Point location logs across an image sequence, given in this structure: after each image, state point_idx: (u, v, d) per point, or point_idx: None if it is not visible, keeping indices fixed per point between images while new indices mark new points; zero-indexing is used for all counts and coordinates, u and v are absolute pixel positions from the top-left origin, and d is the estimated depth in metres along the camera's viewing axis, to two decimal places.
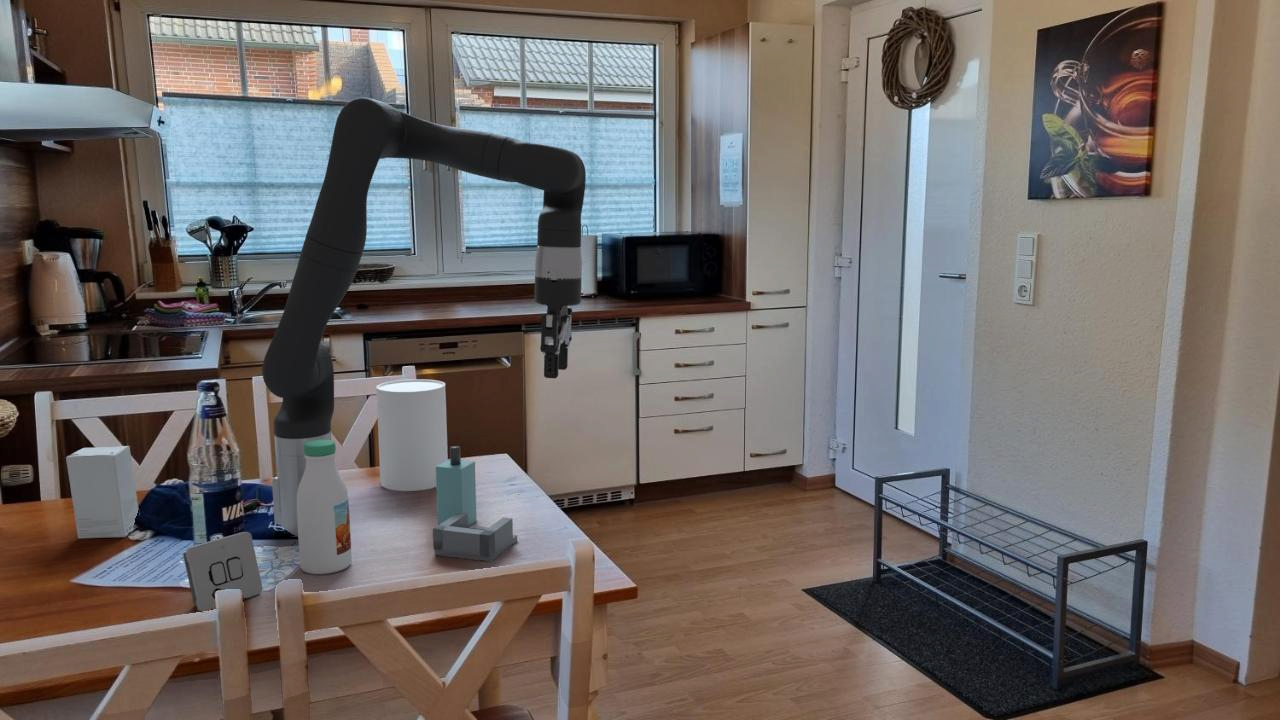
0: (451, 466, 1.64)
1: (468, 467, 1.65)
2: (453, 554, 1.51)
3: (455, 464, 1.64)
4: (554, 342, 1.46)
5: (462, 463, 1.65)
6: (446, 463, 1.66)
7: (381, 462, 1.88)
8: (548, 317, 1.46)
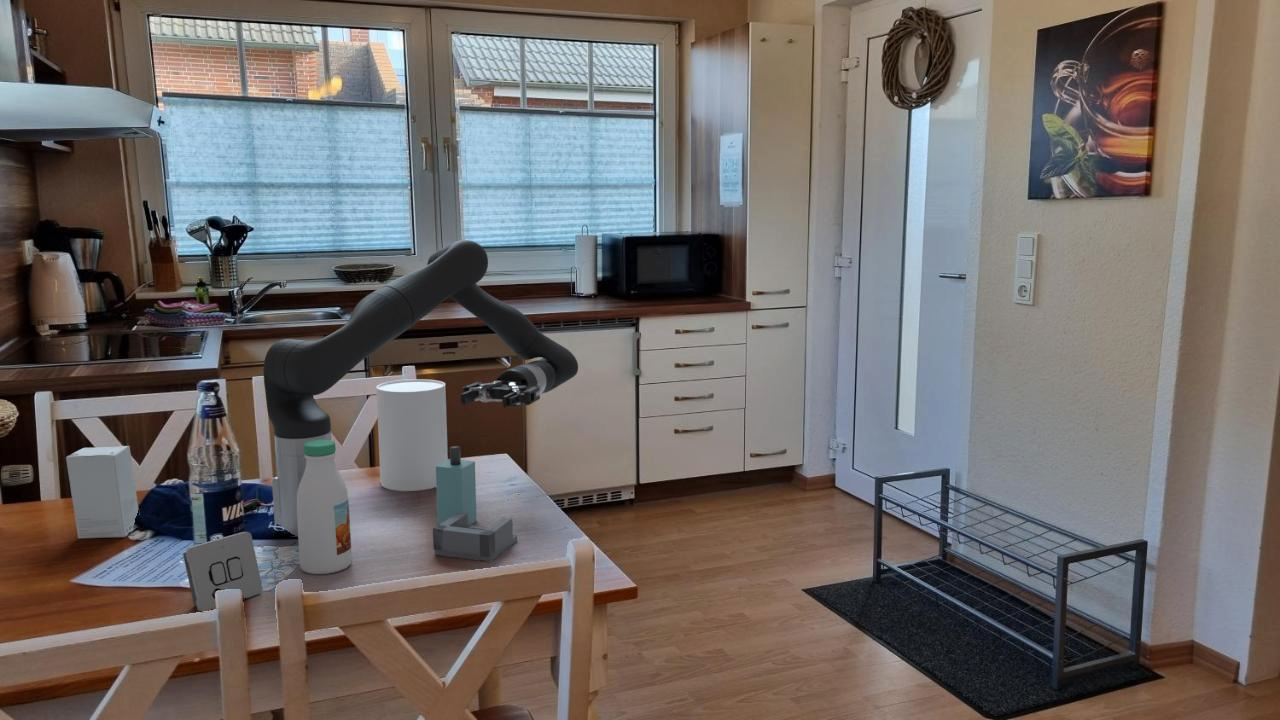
0: (451, 466, 1.64)
1: (468, 467, 1.65)
2: (453, 554, 1.51)
3: (455, 464, 1.64)
4: (532, 401, 1.78)
5: (463, 463, 1.65)
6: (446, 463, 1.66)
7: (381, 462, 1.88)
8: (539, 391, 1.81)
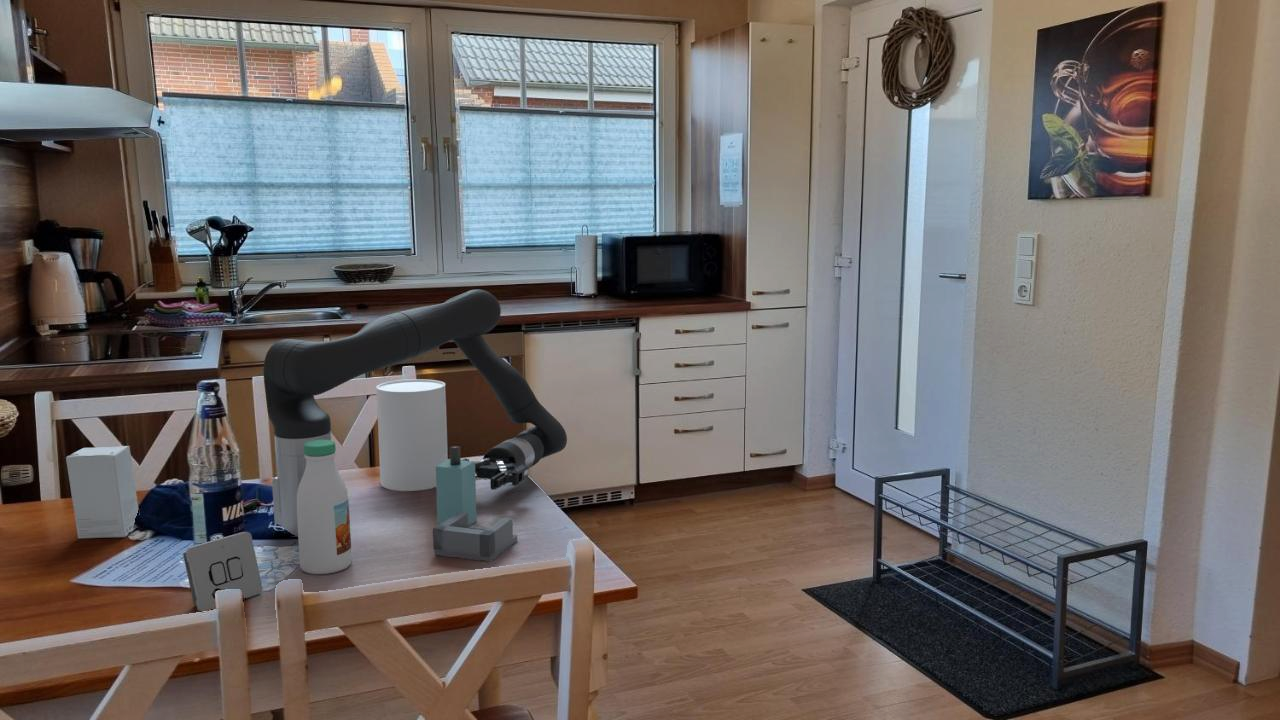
0: (451, 466, 1.64)
1: (468, 467, 1.65)
2: (453, 554, 1.51)
3: (455, 464, 1.64)
4: (520, 481, 1.75)
5: (462, 463, 1.65)
6: (446, 463, 1.66)
7: (381, 462, 1.88)
8: (527, 470, 1.79)
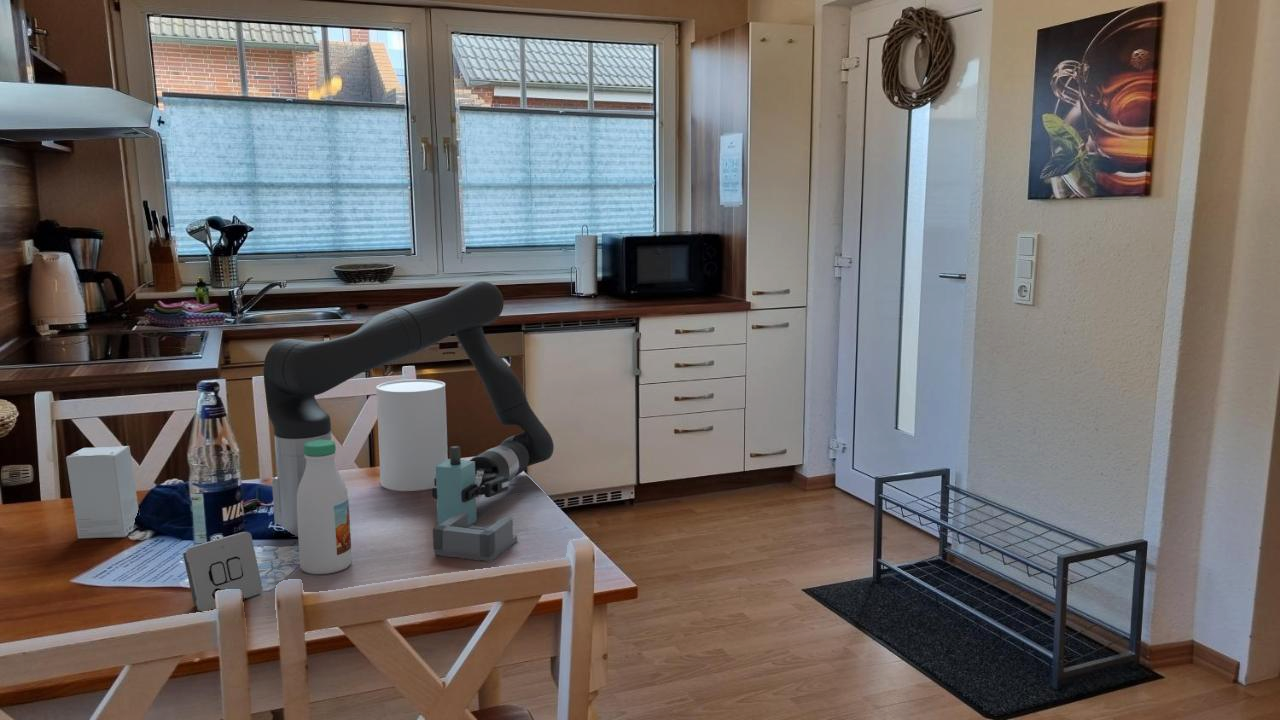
0: (451, 466, 1.64)
1: (468, 467, 1.65)
2: (453, 554, 1.51)
3: (455, 464, 1.64)
4: (494, 493, 1.68)
5: (462, 463, 1.65)
6: (446, 462, 1.66)
7: (381, 462, 1.88)
8: (507, 482, 1.71)
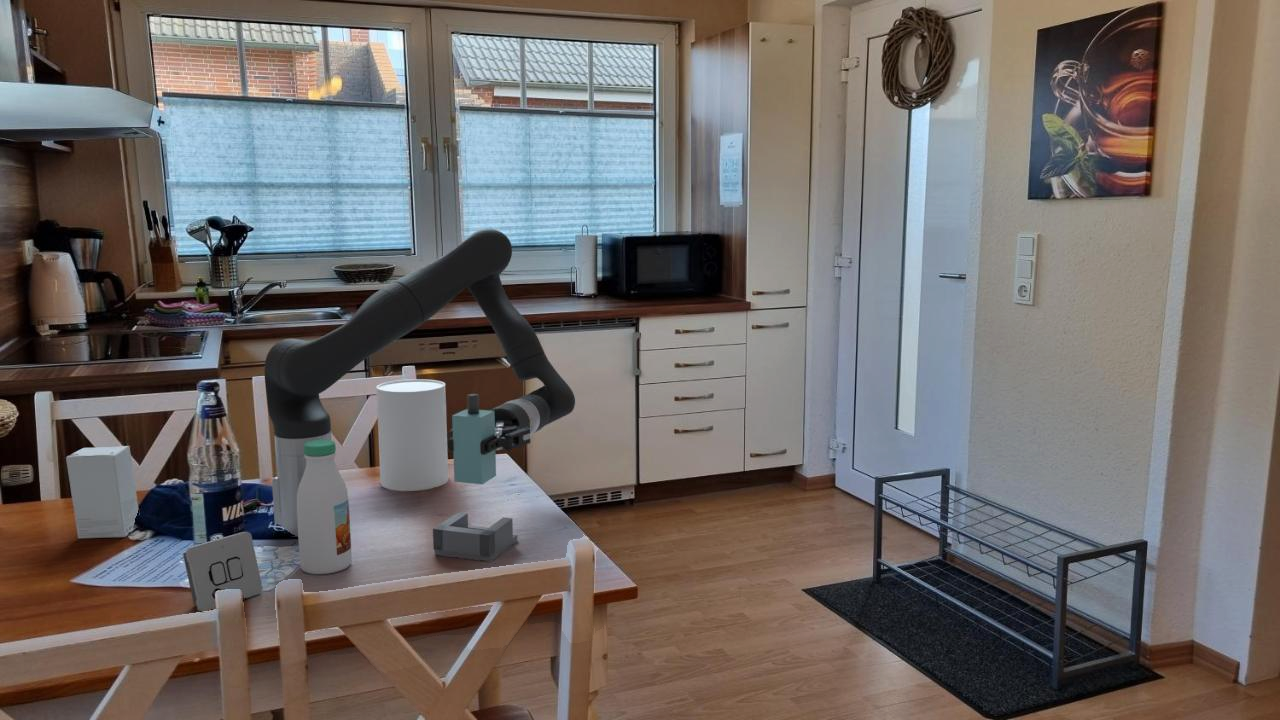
0: (469, 415, 1.50)
1: (487, 417, 1.51)
2: (453, 554, 1.51)
3: (473, 413, 1.51)
4: (515, 446, 1.54)
5: (481, 413, 1.52)
6: (463, 412, 1.52)
7: (381, 462, 1.88)
8: (529, 435, 1.57)
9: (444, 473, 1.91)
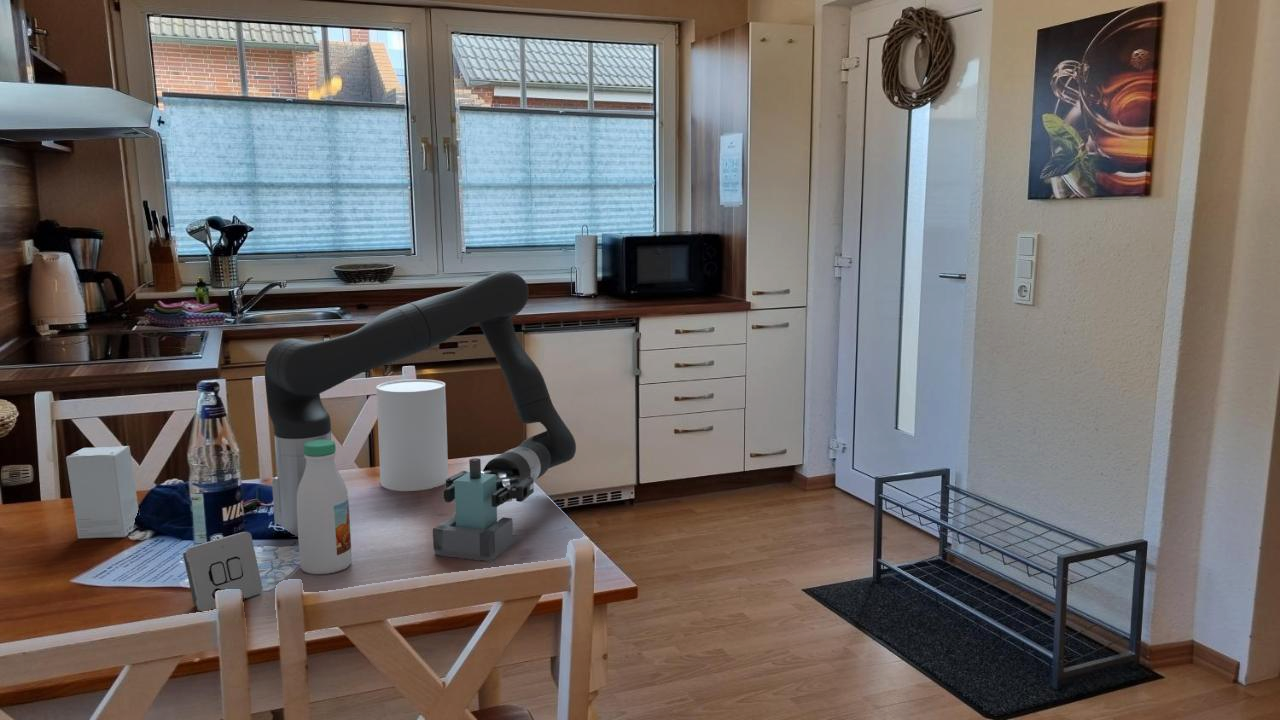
0: (471, 480, 1.52)
1: (489, 481, 1.53)
2: (453, 554, 1.51)
3: (475, 478, 1.53)
4: (525, 497, 1.56)
5: (483, 477, 1.54)
6: (465, 476, 1.54)
7: (381, 462, 1.88)
8: (533, 484, 1.60)
9: (444, 473, 1.91)
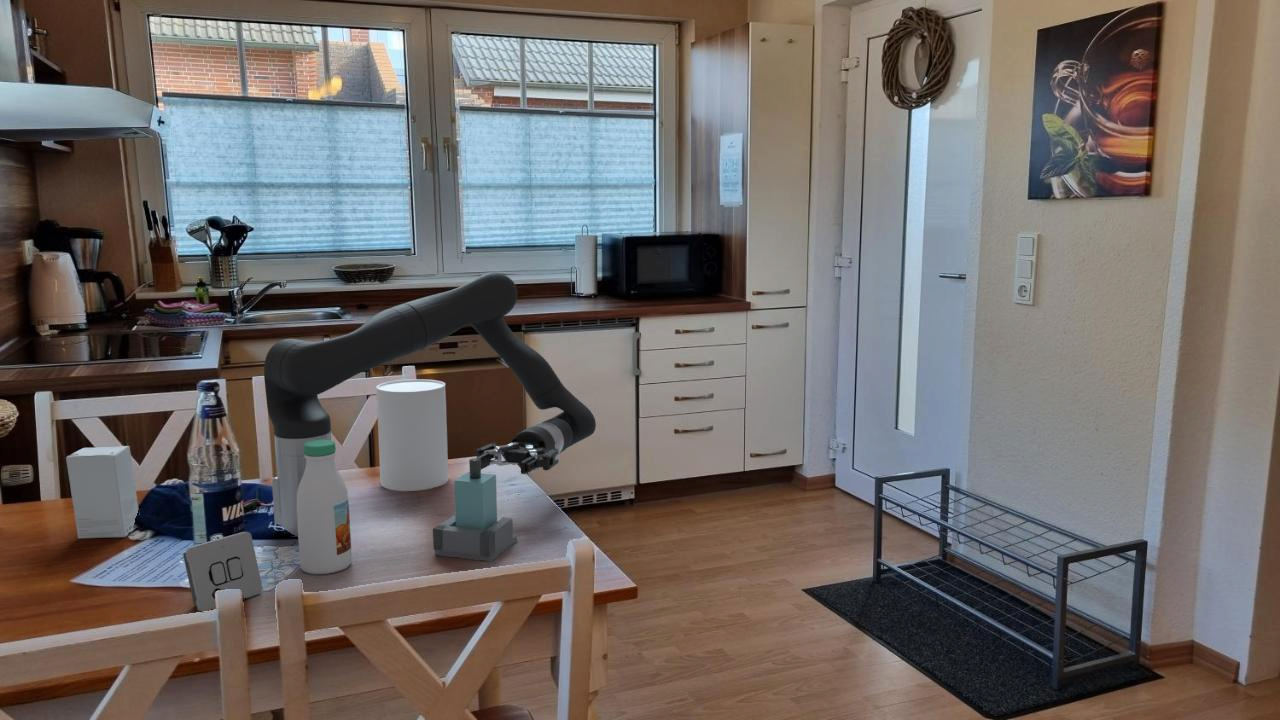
0: (471, 480, 1.52)
1: (489, 481, 1.53)
2: (453, 554, 1.51)
3: (475, 478, 1.53)
4: (551, 466, 1.68)
5: (483, 477, 1.54)
6: (465, 476, 1.54)
7: (381, 462, 1.88)
8: (558, 455, 1.71)
9: (444, 473, 1.91)
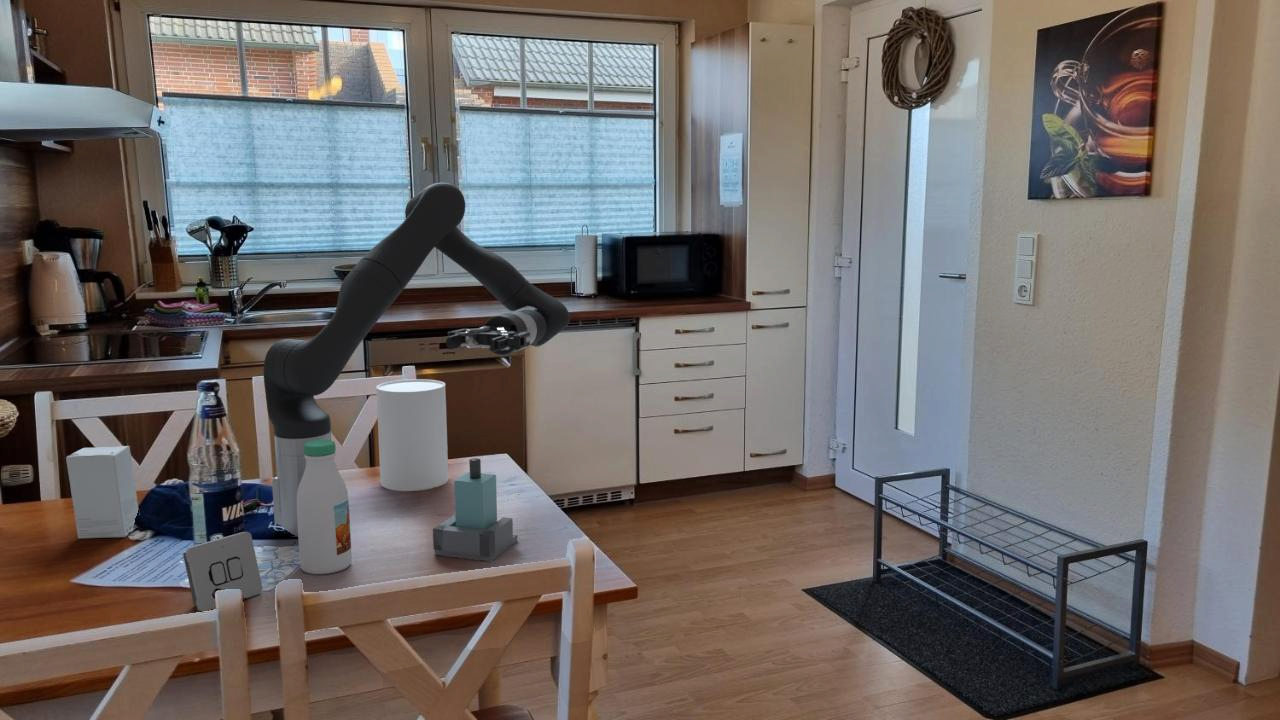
0: (471, 480, 1.52)
1: (489, 481, 1.53)
2: (453, 554, 1.51)
3: (475, 478, 1.53)
4: (522, 346, 1.68)
5: (483, 477, 1.54)
6: (465, 476, 1.54)
7: (381, 462, 1.88)
8: (529, 337, 1.71)
9: (444, 473, 1.91)
